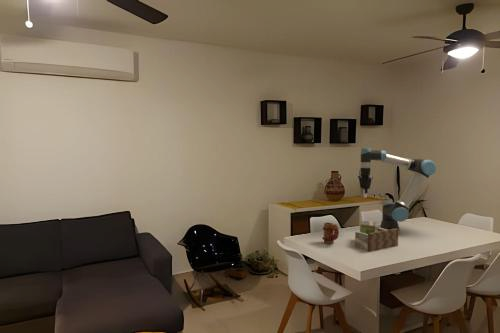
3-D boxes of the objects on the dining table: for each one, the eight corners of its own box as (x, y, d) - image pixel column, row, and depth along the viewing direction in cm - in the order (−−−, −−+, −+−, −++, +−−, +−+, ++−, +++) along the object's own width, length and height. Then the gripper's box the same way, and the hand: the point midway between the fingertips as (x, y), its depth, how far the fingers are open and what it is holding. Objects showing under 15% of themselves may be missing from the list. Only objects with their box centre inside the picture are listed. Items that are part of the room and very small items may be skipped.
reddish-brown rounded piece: (320, 241, 254) (320, 221, 253) (329, 240, 257) (329, 220, 256) (332, 247, 240) (332, 225, 239) (341, 246, 244) (342, 224, 243)
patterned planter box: (381, 240, 257) (381, 224, 256) (397, 245, 244) (398, 229, 243) (353, 246, 243) (353, 229, 242) (369, 251, 231) (370, 234, 230)
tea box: (374, 246, 243) (375, 225, 242) (359, 244, 247) (360, 224, 246) (374, 240, 258) (374, 220, 257) (359, 239, 261) (360, 219, 260)
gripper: (355, 167, 277) (355, 196, 278) (368, 168, 265) (367, 198, 267) (362, 166, 280) (361, 195, 282) (375, 167, 269) (374, 198, 270)
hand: (364, 197), depth 274 cm, fingers closed
